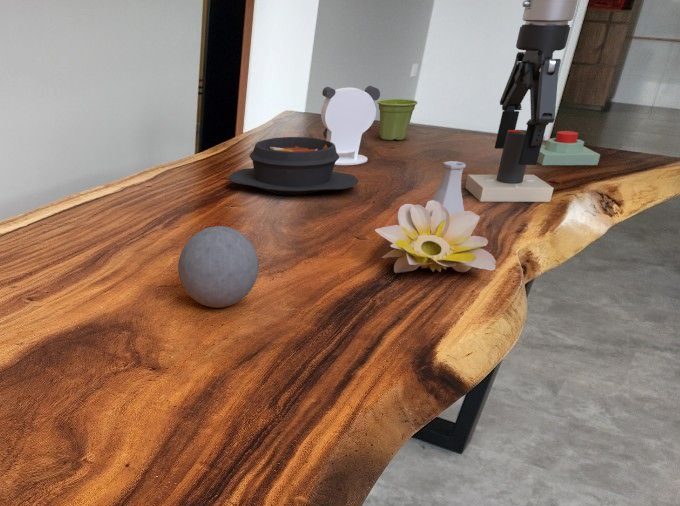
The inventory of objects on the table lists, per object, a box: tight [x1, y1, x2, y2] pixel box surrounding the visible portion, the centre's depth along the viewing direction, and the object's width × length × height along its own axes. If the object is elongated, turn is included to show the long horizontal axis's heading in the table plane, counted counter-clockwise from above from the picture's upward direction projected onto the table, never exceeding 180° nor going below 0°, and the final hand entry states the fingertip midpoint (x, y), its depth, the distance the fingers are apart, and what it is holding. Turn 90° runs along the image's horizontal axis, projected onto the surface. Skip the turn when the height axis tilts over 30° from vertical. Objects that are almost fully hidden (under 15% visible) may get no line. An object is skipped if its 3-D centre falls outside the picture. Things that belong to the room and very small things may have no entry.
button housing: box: [537, 137, 601, 166], centre depth 154 cm, size 11×10×4 cm
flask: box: [431, 160, 467, 216], centre depth 115 cm, size 7×7×10 cm
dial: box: [496, 129, 528, 184], centre depth 129 cm, size 4×4×9 cm
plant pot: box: [377, 98, 419, 141], centre depth 178 cm, size 9×9×9 cm
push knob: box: [555, 130, 579, 143], centre depth 153 cm, size 4×4×2 cm
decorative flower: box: [374, 199, 497, 274], centre depth 97 cm, size 15×11×10 cm
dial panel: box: [464, 174, 555, 203], centre depth 132 cm, size 12×10×3 cm
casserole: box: [227, 136, 359, 196], centre depth 139 cm, size 25×19×8 cm
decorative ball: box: [177, 225, 260, 309], centre depth 90 cm, size 10×10×10 cm
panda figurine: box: [320, 85, 381, 166], centre depth 158 cm, size 12×11×15 cm
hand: (514, 156), depth 130 cm, fingers open, 13 cm apart
